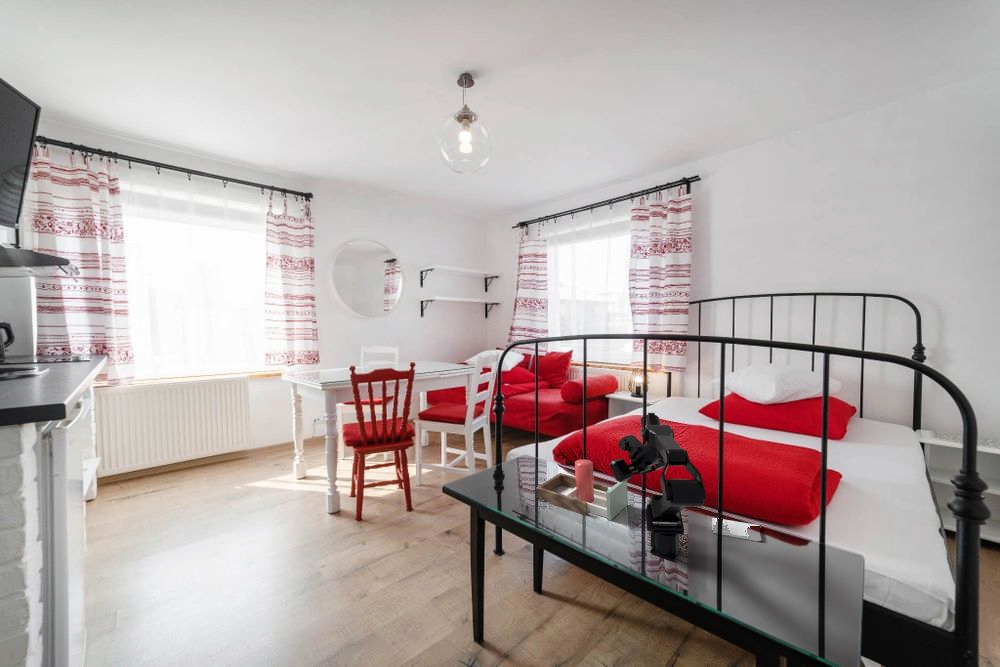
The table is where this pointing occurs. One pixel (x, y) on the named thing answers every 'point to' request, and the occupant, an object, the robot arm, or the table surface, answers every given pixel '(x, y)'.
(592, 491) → the pink cylinder
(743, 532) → the external hard drive
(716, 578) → the table surface
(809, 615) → the table surface
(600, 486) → the drawer
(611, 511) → the tray
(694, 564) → the table surface
